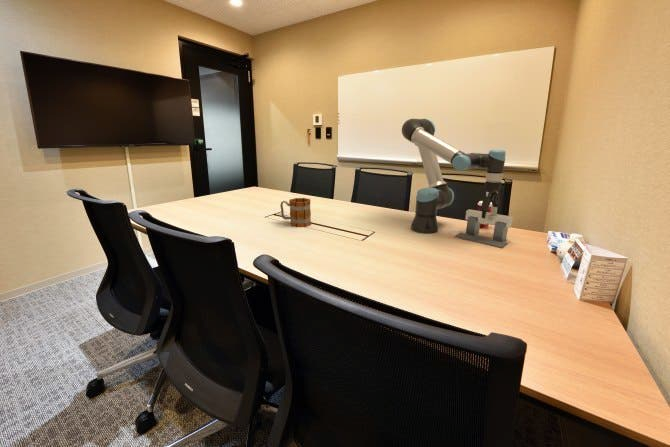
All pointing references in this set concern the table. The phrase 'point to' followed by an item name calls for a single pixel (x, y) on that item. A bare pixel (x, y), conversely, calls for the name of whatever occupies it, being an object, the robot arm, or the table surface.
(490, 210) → the coffee cup
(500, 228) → the post
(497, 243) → the gray base plate
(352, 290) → the table surface
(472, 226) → the post
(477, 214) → the rail
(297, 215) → the mug
